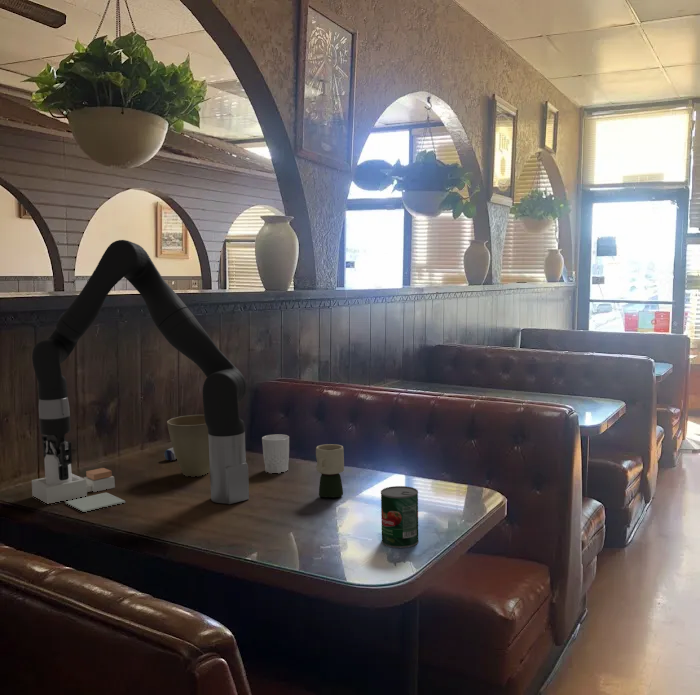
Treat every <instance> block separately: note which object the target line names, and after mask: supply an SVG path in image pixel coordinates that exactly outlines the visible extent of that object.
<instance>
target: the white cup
mask: <svg viewBox="0 0 700 695" xmlns="http://www.w3.org/2000/svg"><path fill="white" fill-rule="evenodd" d="M261 442H262V454H263V463H264V468H265V470H264V471H265V473H267V472H269V473H268V474H272V473H278V474H282V473H281V472H284V473H286V472H285V471H287V470H288V471H289V462H290V461H289V460H290V459H289V458H290V436H289V435H287V434H281V433H279V434H275V433H274V434H267V435H264V436H262V437H261ZM288 471H287V472H288Z"/></svg>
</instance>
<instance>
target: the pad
mask: <svg viewBox="0 0 700 695" xmlns="http://www.w3.org/2000/svg"><path fill="white" fill-rule="evenodd" d="M64 502H65V505H67V504H68V505H67V506H69V505H70V506H69V507H71V506H72V507H71V508H73V507H74V508H76V509H78V510H80V511H82V512H86V513H88V512H87V511H91V510H95V509H99V508H102V507H107V508H109V507H108V506H111V507H113V506H112V505H116V506H118V505H117V504H120V505H123V504H122V503H124V504H126V500H124V499H122V498H120V497H118V496H115V495H113V494H111V493H109V492H102V493H97V494H93V495H87V496H86V497H82V498H77V499H73V500H68V501H64ZM74 508H73V509H74ZM76 509H75V510H76ZM78 510H77V511H78ZM99 510H100V509H99ZM80 511H79V512H80ZM95 511H96V510H95ZM82 512H81V513H82ZM91 512H92V511H91Z"/></svg>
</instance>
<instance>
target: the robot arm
mask: <svg viewBox="0 0 700 695" xmlns="http://www.w3.org/2000/svg"><path fill="white" fill-rule="evenodd" d="M122 279H126V280H127V281H128V282H129V283H130V284H131V285H132V286H133V288H134V289H135V290H136V291H137V293H139V295H140V296H141V298H142V299H143V300H144V303H145V304H146V308H147V310H148V313H149V315H150V318H151V320H152V322H153V324H154V325H155V326H156V328H157V329H158V330H159V332H160V333H161V334H162V335H163V337H164V338H165V339H166V341H167V342H168V344H170V345H171V346H172V347H173V348H174V349H175V350H177V351H178V352H180V353H181V354H182V355H183V356H185V357H187V358H188V359H189V360H190V361H192V362H193V363H194V364H196V366H198V368H199V369H200V370H201V371H202V372H203V374H204V375H205V376H206V378H205V380H204V382H203V385H202V403H203V404H202V405H203V415H204V418H205V423H206V425H207V427H208V438H209V462H210V471H209V482H210V483H209V485H210V499H211V500H210V501H212V502H213V503H216V504H217V503H218V504H226V505H232V504H236V503H240V502H243V501H247V500H250V487H249V486H250V485H249V464H248V463H247V460H246V458H247V455H246V451H247V450H246V431H245V430H246V429H245V421H244V420H243V419H241V418H240V414H239V413H240V412H239V402H241V401H242V400H243V399H244V398H245V397H246V395H247V393H248V383H247V380H246V378H245V376H244V375H243V373H242V372H241V371H240V369H239V368H237V367H236V365H234V363H233V362H232V361H231V360H230V359H229V358H228V357H227V356H226V355H225V354H224V353H223V351H221V349H220V348H218V346H217V345H216V343H215V342H214V340H213V339H212V338H211V337H210V335H209V334H208V333H207V331H206V330H205V328H204V327H203V326H202V325H201V323H200V322H199V321H198V319H197V318H196V317H195V315H194V314H193V312H192V311H191V310H190V308H188V306H187V305H186V303H185V302H184V301H183V300H182V298H180V297H179V295H178V293H176V292H175V290H173V288H172V287H171V286H170V285H169V284H168V283H167V282H166V281H165V279H164V278H163V276H162V274H160V272H159V270H158V269H157V267H156V265H155V264H154V262H153V261H152V258H151V257H150V256H149V254H148V252H147V251H146V250H145V249H144V248H143V247H142V245H139V244H137V243H135V242H132V241H129V240H126V239H118V240H116V241H113V242H112V243H111V244H109V246H107V247H106V249H105V251H104V253H103V255H102V256H101V258H100V260H99V262H98V263H97V265H96V267H95V268H94V271H93V272H92V274H91V275H90V277H89V279H88V281H86V284H85V285H84V287H83V288H82V289H81V291H80V293H79V294H78V295H77V297H76V298H75V299H74V300H73V302H72V303H71V304H70V305H69V307H67V309H66V310H65V311H64V313H63V314H62V315H61V317H60V318H59V319H58V321H57V322H56V325H55V329H54V331H53V332H52V334H51V335H50V336H49V337H48V338H47V339H44V340H41V341H38V342H37V343H36V344H35V345H34V346H33V349H32V354H31V361H32V366H33V370H34V375H35V377H36V381H37V384H38V386H37V388H38V389H37V391H38V419H39V432H40V435H42V436H41V442H42V443H41V444H42V453H43V458H44V459H45V456H46V453H47V452H48V453H53V454H54V458H55V459H57V462H58V468H59V479H60V480H67V479H68V478H69V476H68V465H69V464H71V465H72V463H73V462H72V461H73V460H72V459H73V458H72V457H73V456H72V441H67V439H66V436H65V435H66V434H68V433H70V432H71V428H72V426H71V412H70V410H71V409H70V403H69V398H68V397H69V396H68V394H69V393H68V383H67V382H68V381H67V378H66V377H65V376H64V375H62V369H61V364H62V363H64V362H65V361H66V359H68V358H69V356H70V355H71V354H72V352H73V351H74V349H75V348H76V345H77V344H78V342H79V340H80V339H81V337H83V336H84V334H86V332H87V331H88V330H89V328H90V327H91V326H92V324H94V322H95V321H96V319H97V318H98V315H99V314H100V312H101V310H102V307H103V305H104V303H105V301H106V298H107V297H108V295H109V293H111V291H112V289H113V288H114V287H115V286H116V285H117V284H118V282H120V281H121V280H122ZM49 451H51V452H49ZM60 458H61V459H60ZM64 458H65V460H64Z"/></svg>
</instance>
